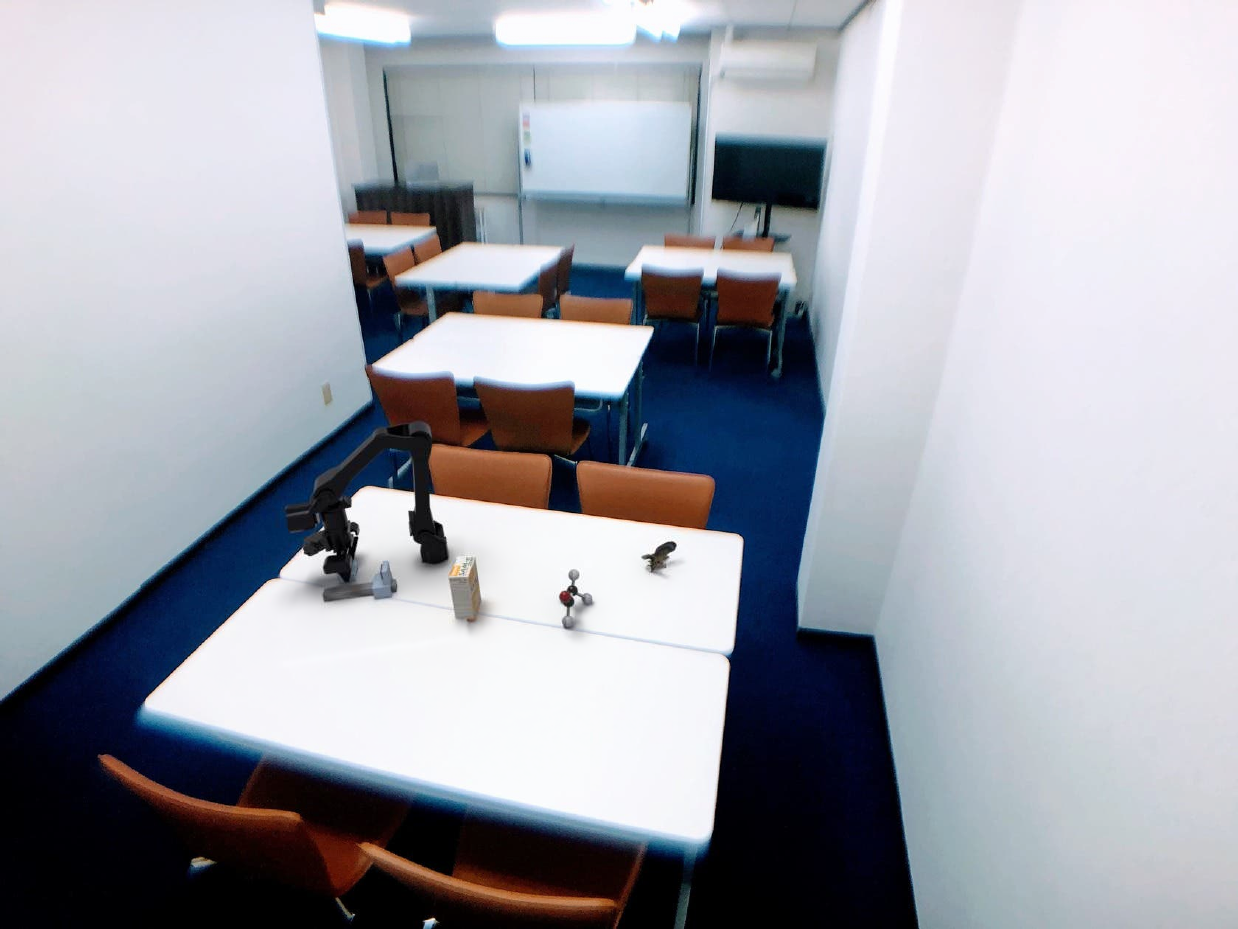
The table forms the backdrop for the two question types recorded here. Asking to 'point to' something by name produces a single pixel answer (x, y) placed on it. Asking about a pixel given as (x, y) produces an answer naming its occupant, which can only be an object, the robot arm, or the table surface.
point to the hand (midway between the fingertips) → (348, 574)
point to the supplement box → (465, 588)
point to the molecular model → (569, 600)
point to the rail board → (352, 591)
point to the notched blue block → (353, 573)
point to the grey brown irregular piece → (660, 554)
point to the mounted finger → (382, 582)
